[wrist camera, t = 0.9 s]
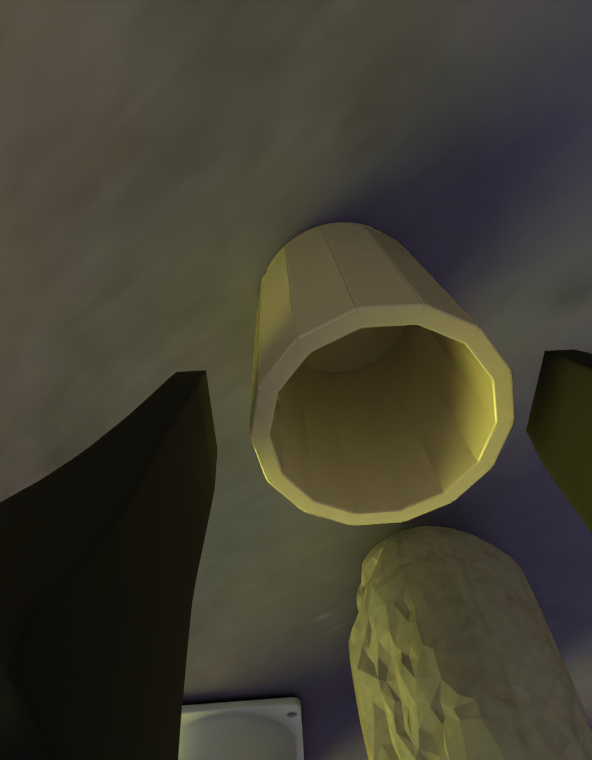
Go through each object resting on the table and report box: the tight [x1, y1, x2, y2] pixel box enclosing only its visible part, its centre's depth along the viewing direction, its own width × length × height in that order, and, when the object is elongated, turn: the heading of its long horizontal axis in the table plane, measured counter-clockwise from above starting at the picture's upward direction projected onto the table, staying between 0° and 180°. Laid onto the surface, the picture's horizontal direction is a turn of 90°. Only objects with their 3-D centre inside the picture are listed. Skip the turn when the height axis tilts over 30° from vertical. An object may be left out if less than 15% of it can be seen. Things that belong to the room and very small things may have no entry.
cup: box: [250, 222, 515, 525], centre depth 13 cm, size 5×5×7 cm
